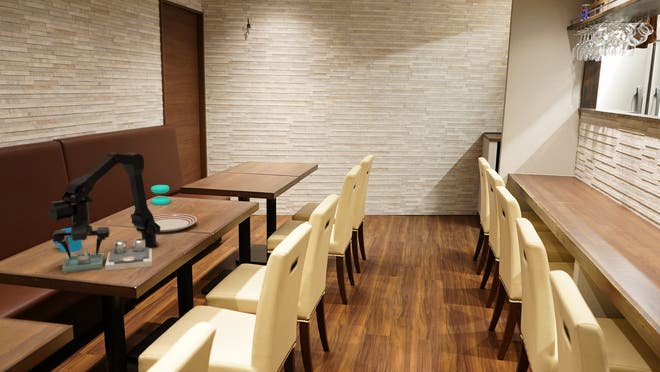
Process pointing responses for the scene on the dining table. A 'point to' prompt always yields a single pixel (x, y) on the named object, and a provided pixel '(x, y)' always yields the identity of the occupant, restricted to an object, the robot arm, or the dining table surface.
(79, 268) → the tray
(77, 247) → the mug
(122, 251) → the cylinder
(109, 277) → the dining table surface
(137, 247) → the cylinder
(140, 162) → the robot arm
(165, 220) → the dinner plate
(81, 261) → the cylinder
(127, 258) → the scale
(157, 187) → the donuts
